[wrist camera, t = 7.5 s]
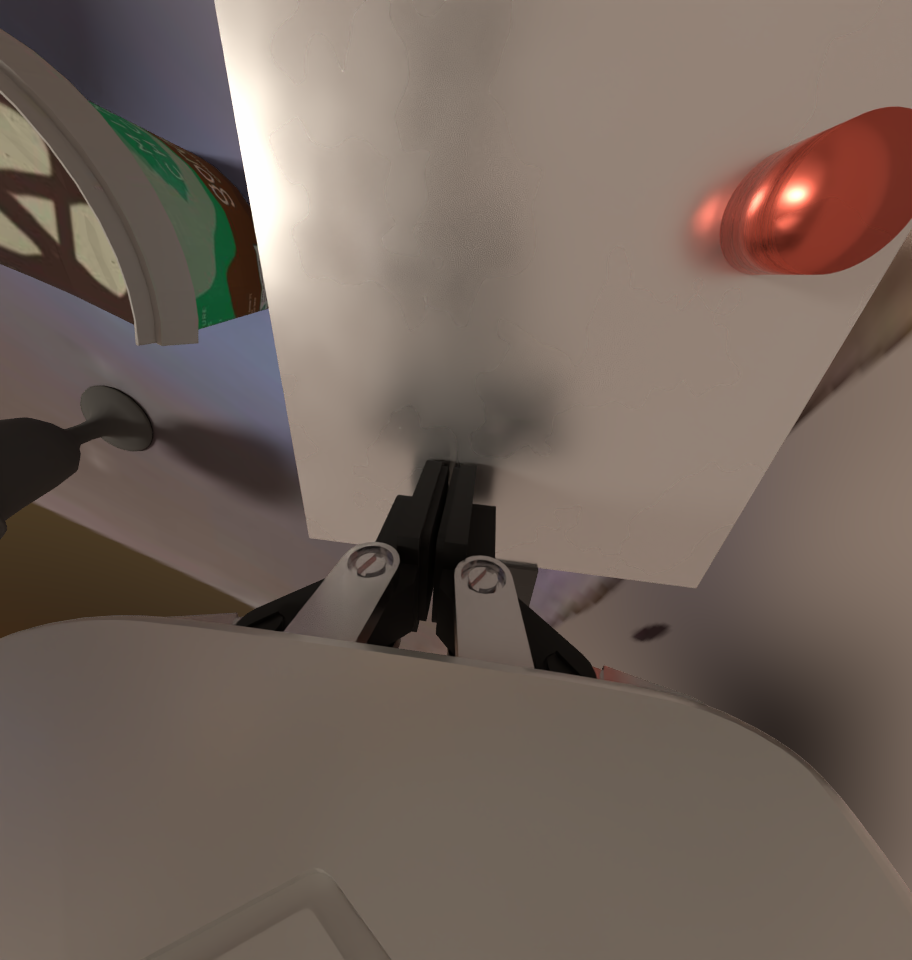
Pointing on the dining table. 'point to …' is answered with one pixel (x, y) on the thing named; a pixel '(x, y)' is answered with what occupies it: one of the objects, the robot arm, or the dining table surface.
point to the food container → (118, 210)
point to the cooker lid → (566, 250)
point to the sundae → (63, 446)
